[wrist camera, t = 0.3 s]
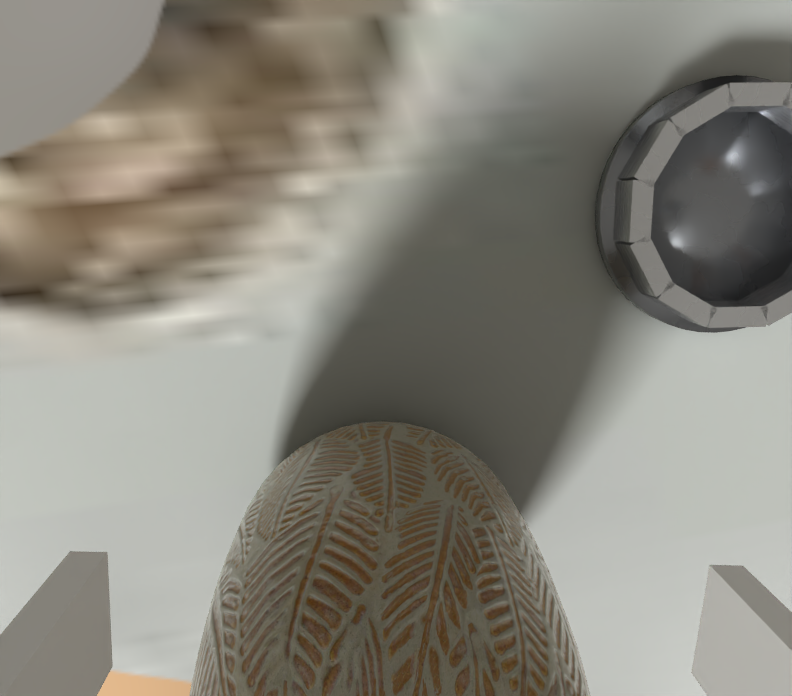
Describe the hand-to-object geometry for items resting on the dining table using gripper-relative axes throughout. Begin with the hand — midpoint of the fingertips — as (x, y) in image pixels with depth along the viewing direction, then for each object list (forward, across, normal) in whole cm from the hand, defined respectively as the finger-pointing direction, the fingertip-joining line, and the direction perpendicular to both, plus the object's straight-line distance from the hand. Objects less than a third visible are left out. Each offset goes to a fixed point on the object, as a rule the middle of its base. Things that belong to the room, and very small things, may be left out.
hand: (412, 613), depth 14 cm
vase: (+28, +1, -12) cm, 30 cm away
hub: (+28, +20, +9) cm, 35 cm away
